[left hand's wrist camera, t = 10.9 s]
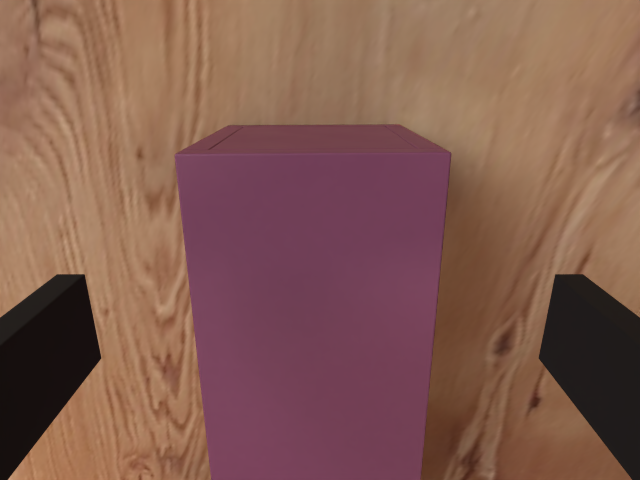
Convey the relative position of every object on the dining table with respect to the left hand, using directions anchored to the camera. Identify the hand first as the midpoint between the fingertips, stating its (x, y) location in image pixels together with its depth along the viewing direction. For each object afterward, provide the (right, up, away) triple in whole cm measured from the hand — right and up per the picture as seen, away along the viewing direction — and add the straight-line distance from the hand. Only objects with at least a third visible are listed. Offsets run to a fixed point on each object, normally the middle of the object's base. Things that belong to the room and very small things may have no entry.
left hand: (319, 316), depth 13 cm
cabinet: (0, +1, +17) cm, 17 cm away
